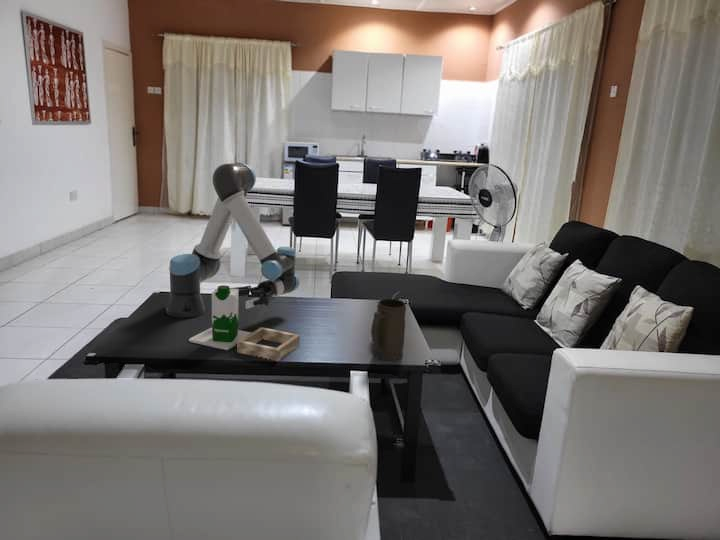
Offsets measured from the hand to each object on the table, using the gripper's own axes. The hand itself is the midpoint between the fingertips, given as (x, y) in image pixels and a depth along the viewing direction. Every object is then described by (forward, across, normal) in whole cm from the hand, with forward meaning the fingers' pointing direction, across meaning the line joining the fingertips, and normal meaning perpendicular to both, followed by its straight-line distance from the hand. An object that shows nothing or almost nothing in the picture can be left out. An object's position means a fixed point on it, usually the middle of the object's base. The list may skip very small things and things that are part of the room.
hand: (232, 301), depth 193 cm
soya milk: (+6, -2, -12) cm, 14 cm away
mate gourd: (-50, -39, -13) cm, 65 cm away
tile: (+5, 0, -13) cm, 14 cm away
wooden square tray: (+2, -19, -13) cm, 23 cm away
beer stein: (-18, -55, -13) cm, 60 cm away
